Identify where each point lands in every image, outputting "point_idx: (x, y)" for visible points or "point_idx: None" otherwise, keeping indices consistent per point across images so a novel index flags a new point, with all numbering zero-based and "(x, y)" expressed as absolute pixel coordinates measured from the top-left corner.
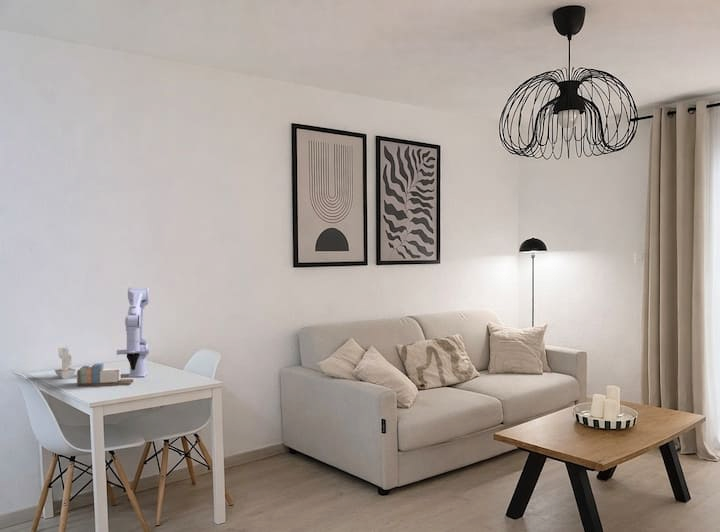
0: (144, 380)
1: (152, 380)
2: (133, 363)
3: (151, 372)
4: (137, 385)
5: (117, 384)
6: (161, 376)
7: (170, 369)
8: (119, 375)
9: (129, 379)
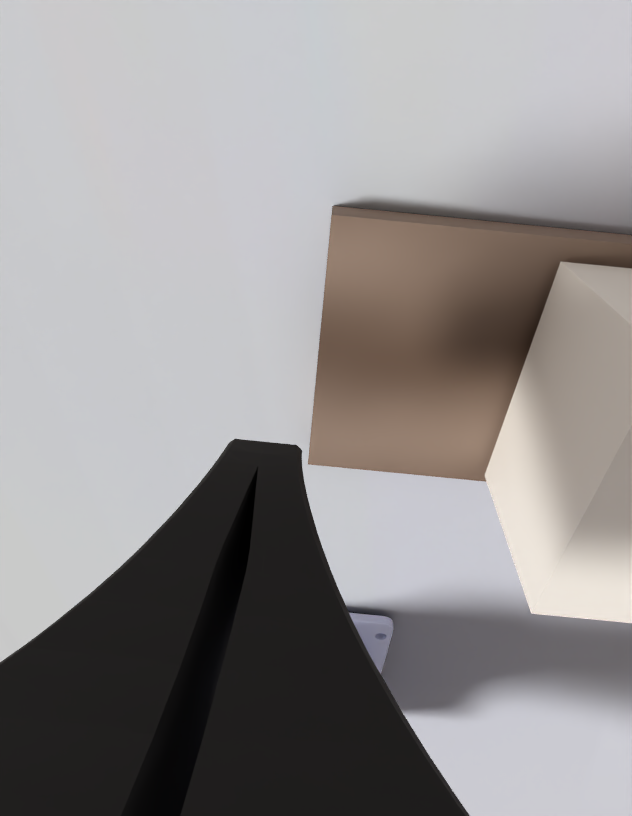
0: (173, 455)
1: (67, 435)
2: (204, 549)
3: None
4: (187, 127)
5: (542, 230)
6: (43, 584)
7: None
8: (522, 469)
9: (358, 451)
